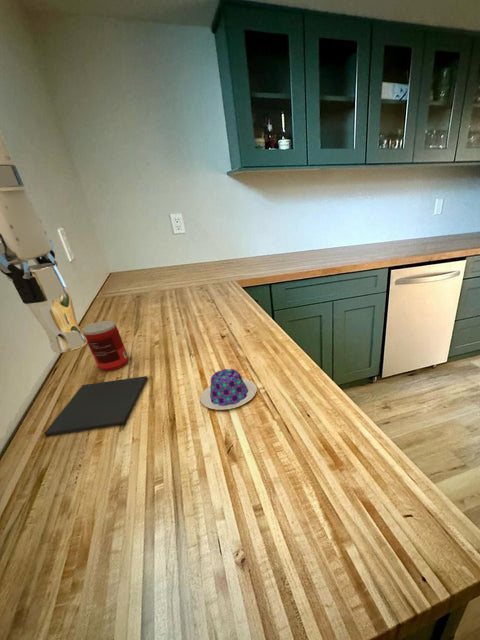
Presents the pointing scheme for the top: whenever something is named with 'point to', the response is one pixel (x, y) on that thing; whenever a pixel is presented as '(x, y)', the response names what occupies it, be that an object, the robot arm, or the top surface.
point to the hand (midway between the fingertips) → (46, 295)
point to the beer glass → (56, 309)
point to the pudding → (228, 390)
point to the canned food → (106, 345)
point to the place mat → (98, 406)
